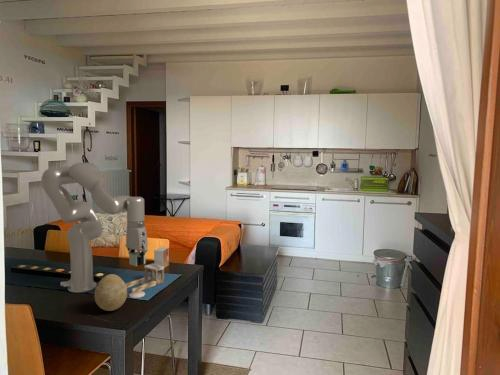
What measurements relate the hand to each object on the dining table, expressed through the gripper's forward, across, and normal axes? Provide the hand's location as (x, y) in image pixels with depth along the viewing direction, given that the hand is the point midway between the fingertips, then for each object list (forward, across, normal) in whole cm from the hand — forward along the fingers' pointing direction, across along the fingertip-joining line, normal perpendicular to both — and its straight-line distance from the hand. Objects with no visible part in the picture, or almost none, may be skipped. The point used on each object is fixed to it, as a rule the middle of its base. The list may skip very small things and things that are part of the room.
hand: (136, 263), depth 164 cm
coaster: (+15, 0, 0) cm, 15 cm away
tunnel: (+15, +8, -9) cm, 19 cm away
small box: (+15, +23, -34) cm, 44 cm away
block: (+1, 0, 0) cm, 1 cm away
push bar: (+16, +9, -16) cm, 24 cm away
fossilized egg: (+15, -4, +16) cm, 22 cm away
